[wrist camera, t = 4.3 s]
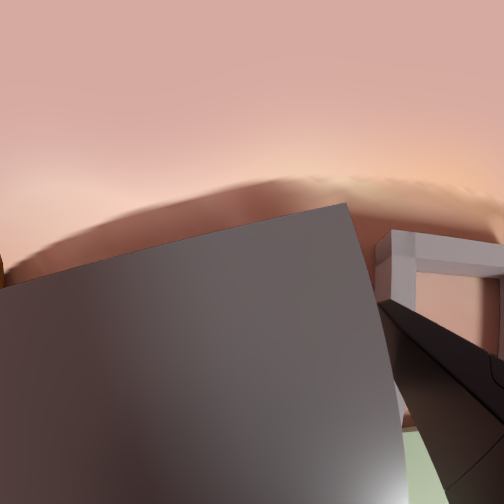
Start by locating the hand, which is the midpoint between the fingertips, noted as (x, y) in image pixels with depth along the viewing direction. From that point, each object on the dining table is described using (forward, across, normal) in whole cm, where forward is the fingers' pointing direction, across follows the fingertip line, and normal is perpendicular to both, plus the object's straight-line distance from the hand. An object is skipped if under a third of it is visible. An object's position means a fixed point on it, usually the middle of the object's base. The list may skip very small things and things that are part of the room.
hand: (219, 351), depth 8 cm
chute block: (+4, 0, +6) cm, 7 cm away
